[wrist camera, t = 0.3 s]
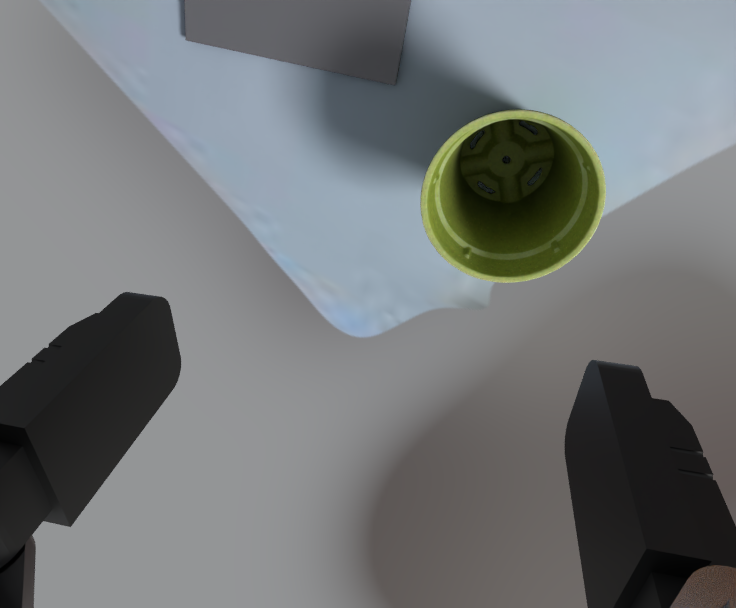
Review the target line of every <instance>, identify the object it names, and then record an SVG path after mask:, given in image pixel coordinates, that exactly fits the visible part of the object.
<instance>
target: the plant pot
mask: <svg viewBox="0 0 736 608" xmlns="http://www.w3.org/2000/svg"><path fill="white" fill-rule="evenodd" d="M521 121H524V122H526V123H527V124H528V125H532V126H534V127H535V128H536V129H537V131H538V133H537V135H534V134H533V133H532V132H530V131H529V130H528V129H526V128H525V127H523V126H520V125H519V122H521ZM483 130H484V131H485V133H484V135H483V136H482V137H481V138H480V139H479V140H478V142H477V143H476V146H475V148H474V149H471V147H470V144H471V141H472V140H473V139H474V138H475V136H476V135H477V133H478V132H480V131H483ZM505 156H508V157H509V158H510V162H509V163H508V164H505V163H504V162H503V161H502V159H503V157H505ZM539 168H542V172H541V174H540V177H539V178H538V180H537V181H536V182H535V183H534V184H532V185H530V186H529V185H527V183H528V181H529V180H531V178H532V177H533V176H534V175H535V174H536V172H537V171H539ZM478 181H480V182H482V183H483V184H484V185H485V186H486V187H488V188H490V189H492V190H494V191H495V192H494V193H488V192H486V191H484V190H482V189H481V188H480V187H479V186H478V184H477V183H478ZM605 198H606V184H605V176H604V171H603V168H602V165H601V162H600V160H599V157H598V155H597V153H596V152H595V150H594V148H593V147H592V146H591V144H590V143H589V142H588V140H587V139H586V138H585V137H584V136H583V135H582V134H581V133H580V132H579V131H577V130H576V129H575V128H574V127H572V126H571V125H570V124H568V123H566V122H565V121H563V120H561V119H559V118H557V117H554V116H552V115H549V114H546V113H542V112H538V111H533V110H504V111H499V112H495V113H491V114H488V115H485V116H482V117H480V118H477V119H475V120H473V121H471V122H469V123H468V124H466V125H465V126H463V127H462V128H460V129H459V130H457V131H456V132H455V133H454V134H453V135H452V136H450V137H449V138H448V139H447V140H446V142H445V143H444V144H443V145H442V146H441V147H440V148H439V150H438V151H437V153H436V154H435V156H434V157H433V159H432V161H431V163H430V165H429V167H428V169H427V172H426V175H425V178H424V181H423V185H422V191H421V215H422V220H423V225H424V228H425V231H426V233H427V235H428V238H429V240H430V241H431V243H432V245H433V246H434V247H435V249H436V250H437V252H438V253H439V254H440V255H441V256H442V257H443V258H444V259H445V260H446V261H447V262H448V263H450V264H451V265H452V266H454V267H455V268H457V269H458V270H460V271H462V272H464V273H466V274H468V275H470V276H473V277H475V278H479V279H482V280H487V281H492V282H501V283H505V282H507V283H510V282H521V281H527V280H532V279H535V278H539V277H542V276H544V275H547V274H549V273H551V272H553V271H555V270H557V269H559V268H560V267H562V266H563V265H565V264H566V263H568V262H569V261H570V260H572V259H573V258H574V257H575V256H576V255H578V254H579V252H580V251H581V250H582V249H583V248H584V247H585V245H586V244H587V243H588V242H589V240H590V239H591V238H592V236H593V234H594V232H595V231H596V229H597V227H598V224H599V222H600V219H601V216H602V213H603V210H604V205H605Z"/></svg>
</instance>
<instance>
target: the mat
mask: <svg viewBox="0 0 736 608" xmlns="http://www.w3.org/2000/svg"><path fill="white" fill-rule="evenodd" d="M410 4H411V0H185V34H186V40H187V41H191V42H196V43H201V44H205V45H210V46H215V47H219V48H224V49H229V50H233V51H238V52H242V53H247V54H252V55H256V56H261V57H266V58H270V59H275V60H280V61H284V62H289V63H293V64H298V65H303V66H307V67H312V68H317V69H321V70H326V71H331V72H335V73H340V74H345V75H349V76H354V77H358V78H363V79H368V80H372V81H377V82H382V83H386V84H391V85H395V84H396V81H397V75H398V70H399V64H400V59H401V53H402V48H403V42H404V37H405V31H406V26H407V20H408V15H409V9H410Z"/></svg>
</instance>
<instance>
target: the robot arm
mask: <svg viewBox="0 0 736 608" xmlns="http://www.w3.org/2000/svg"><path fill="white" fill-rule="evenodd" d="M180 370H181V356H180V352H179V347H178V342H177V337H176V332H175V328H174V323H173V318H172V313H171V309H170V305H169V303H168V301H167V300H166V299H165V298H163V297H158V296H151V295H144V294H137V293H130V292H125V293H122V294H120V295H119V296H118V297H117V298H116V299H114V300H113V301H112V302H111V303H110V304H109V305H108V306H107V307H105V308H104V309H103V310H102V311H101V312H100V313H95V314H93V315H91V316H89V317H87V318H85V319H83V320H81V321H79V322H77V323H75V324H74V325H71V326H69V327H68V328H67V329H66V330H65V331H63V332H62V333H61V334H60V335H59V336H58V337H56V338H55V339H54V340H53V341H52V342H51V343H49V347H48V348H44V349H43V350H41V351H40V352H39V353H38V354H37V355H36V356H34V357H33V358H32V362H31V363H26V364H25V365H24V366H23V367H22V368H21V369H19V370H18V371H17V372H16V373H15V374H14V375H12V376H11V377H10V378H9V379H8V380H7V381H5V382H4V383H3V384H2V385H1V386H0V608H34V582H35V581H34V580H35V554H36V546H35V541H34V538H33V536H32V534H33V533H34V531H35V530H36V529H37V528H38V526H39V525H40V524H41V523H42V522H43V521H46V522H50V523H56V524H60V525H64V526H69V527H71V526H72V524H73V523H74V522H75V520H76V519H77V518H78V516H79V515H80V514H81V512H82V511H83V510H84V508H85V507H86V506H87V504H88V503H89V502H90V500H91V499H92V497H93V496H94V495H95V493H96V492H97V491H98V489H99V488H100V487H101V485H102V484H103V483H104V481H105V480H106V479H107V477H108V476H109V475H110V473H111V472H112V471H113V469H114V468H115V467H116V465H117V464H118V463H119V461H120V460H121V459H122V457H123V456H124V454H125V453H126V452H127V450H128V449H129V448H130V446H131V445H132V444H133V442H134V441H135V440H136V438H137V437H138V436H139V434H140V433H141V432H142V430H143V429H144V428H145V426H146V425H147V424H148V422H149V421H150V420H151V418H152V417H153V416H154V414H155V413H156V412H157V410H158V409H159V407H160V406H161V405H162V403H163V402H164V401H165V399H166V398H167V397H168V395H169V394H170V393H171V391H172V390H173V389H174V387H175V385H176V383H177V381H178V378H179V375H180ZM565 459H566V465H567V472H568V479H569V485H570V492H571V499H572V506H573V512H574V519H575V526H576V532H577V539H578V546H579V552H580V559H581V565H582V572H583V579H584V585H585V592H586V599H587V605H588V608H736V526H735V524H734V521H733V519H732V517H731V515H730V512H729V510H728V508H727V505H726V503H725V501H724V498H723V496H722V494H721V491H720V489H719V487H718V485H717V482H716V481H715V480H713V473H712V471H711V469H710V466H709V464H708V462H707V459H706V457H703V450H702V448H701V445H700V443H699V441H698V438H697V436H696V434H695V432H694V429H693V427H692V425H691V424H690V423H689V422H688V421H687V420H686V419H685V418H684V416H683V415H681V413H680V412H679V411H678V410H677V409H676V408H675V407H674V406H673V405H672V404H671V403H670V402H669V401H667V400H660V399H653V398H652V397H651V395H650V392H649V389H648V387H647V384H646V381H645V379H644V376H643V373H642V371H641V369H640V368H639V367H638V366H632V365H625V364H618V363H611V362H604V361H597V360H592V361H590V363H589V364H588V366H587V368H586V371H585V373H584V376H583V379H582V382H581V385H580V388H579V391H578V394H577V397H576V400H575V402H574V406H573V409H572V411H571V414H570V417H569V420H568V423H567V428H566V435H565Z"/></svg>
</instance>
